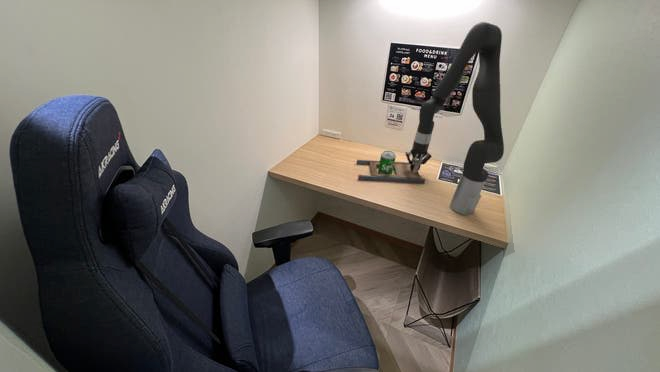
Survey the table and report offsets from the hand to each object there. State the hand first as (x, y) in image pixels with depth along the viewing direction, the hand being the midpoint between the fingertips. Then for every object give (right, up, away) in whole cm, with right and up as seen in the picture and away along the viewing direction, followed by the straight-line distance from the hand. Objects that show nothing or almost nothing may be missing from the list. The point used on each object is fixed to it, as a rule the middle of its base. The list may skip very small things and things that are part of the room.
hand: (414, 170), depth 138 cm
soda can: (-15, -2, +2) cm, 15 cm away
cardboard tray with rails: (-11, -2, +2) cm, 11 cm away
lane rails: (-13, -2, +2) cm, 13 cm away
